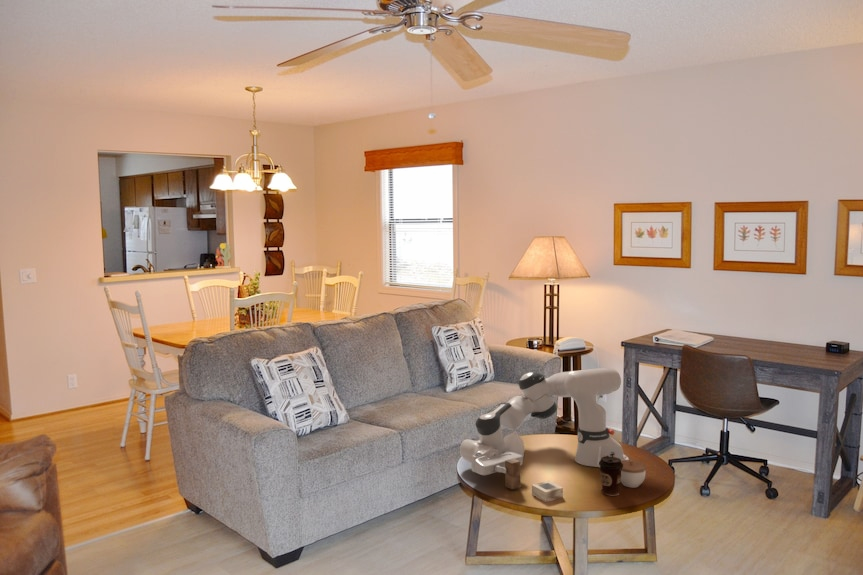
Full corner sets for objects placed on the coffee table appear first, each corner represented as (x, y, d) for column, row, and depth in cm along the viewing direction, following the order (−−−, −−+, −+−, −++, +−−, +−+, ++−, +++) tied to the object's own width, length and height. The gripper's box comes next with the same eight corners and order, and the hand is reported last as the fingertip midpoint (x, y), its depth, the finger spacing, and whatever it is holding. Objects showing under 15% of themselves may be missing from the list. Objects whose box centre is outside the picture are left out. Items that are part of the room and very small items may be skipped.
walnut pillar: (513, 483, 260) (513, 458, 259) (520, 487, 257) (520, 461, 256) (505, 486, 258) (505, 460, 257) (512, 489, 254) (512, 463, 253)
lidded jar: (642, 492, 253) (642, 467, 252) (613, 486, 258) (613, 462, 257) (648, 482, 262) (648, 458, 262) (620, 477, 268) (620, 454, 267)
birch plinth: (548, 490, 256) (549, 480, 256) (562, 498, 249) (562, 487, 249) (531, 495, 252) (531, 484, 252) (545, 503, 245) (545, 492, 245)
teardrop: (519, 450, 296) (525, 425, 294) (526, 463, 286) (532, 437, 283) (495, 447, 294) (500, 422, 292) (500, 460, 284) (506, 434, 281)
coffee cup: (607, 499, 247) (608, 464, 246) (593, 490, 255) (594, 457, 253) (627, 495, 251) (627, 460, 249) (612, 487, 258) (612, 453, 257)
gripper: (509, 461, 274) (532, 471, 263) (468, 472, 263) (491, 483, 251) (509, 445, 274) (532, 455, 262) (468, 456, 262) (491, 467, 251)
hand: (512, 469), depth 257 cm, fingers closed on walnut pillar, 4 cm apart
